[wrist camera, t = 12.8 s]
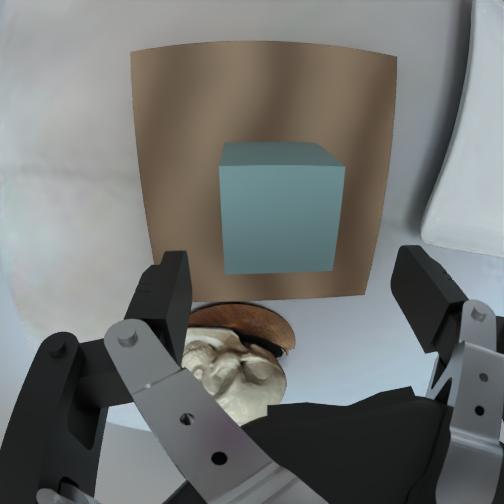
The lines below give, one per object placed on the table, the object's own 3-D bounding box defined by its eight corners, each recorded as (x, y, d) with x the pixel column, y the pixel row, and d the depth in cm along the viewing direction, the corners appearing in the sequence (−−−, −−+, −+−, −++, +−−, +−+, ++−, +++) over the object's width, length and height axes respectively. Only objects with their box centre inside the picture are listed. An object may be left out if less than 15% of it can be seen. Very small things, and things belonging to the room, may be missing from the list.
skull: (142, 366, 28) (156, 402, 19) (189, 278, 31) (223, 275, 22) (238, 409, 32) (285, 446, 23) (278, 330, 35) (336, 343, 26)
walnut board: (386, 57, 16) (397, 56, 15) (358, 283, 25) (364, 294, 24) (138, 53, 15) (130, 52, 14) (166, 290, 25) (162, 302, 23)
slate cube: (316, 142, 18) (345, 166, 13) (311, 224, 20) (332, 271, 16) (224, 142, 18) (218, 166, 13) (227, 226, 20) (224, 274, 16)
